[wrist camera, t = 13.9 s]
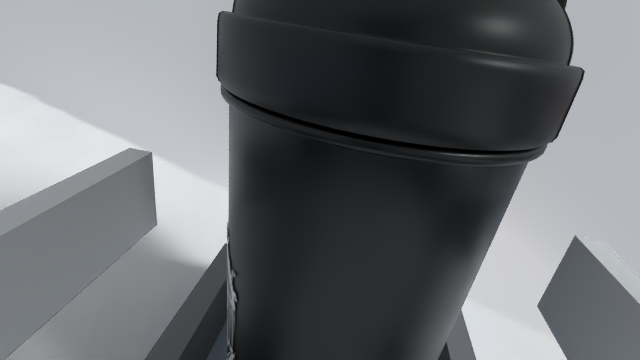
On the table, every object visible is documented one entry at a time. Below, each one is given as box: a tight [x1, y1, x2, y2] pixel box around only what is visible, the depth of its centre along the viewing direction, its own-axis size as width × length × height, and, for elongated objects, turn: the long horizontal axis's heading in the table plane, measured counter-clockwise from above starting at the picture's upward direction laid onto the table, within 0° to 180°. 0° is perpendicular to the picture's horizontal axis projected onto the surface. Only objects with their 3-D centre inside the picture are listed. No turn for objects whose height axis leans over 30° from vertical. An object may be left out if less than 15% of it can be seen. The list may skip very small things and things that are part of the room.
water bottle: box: [216, 0, 585, 360], centre depth 14 cm, size 10×10×23 cm
